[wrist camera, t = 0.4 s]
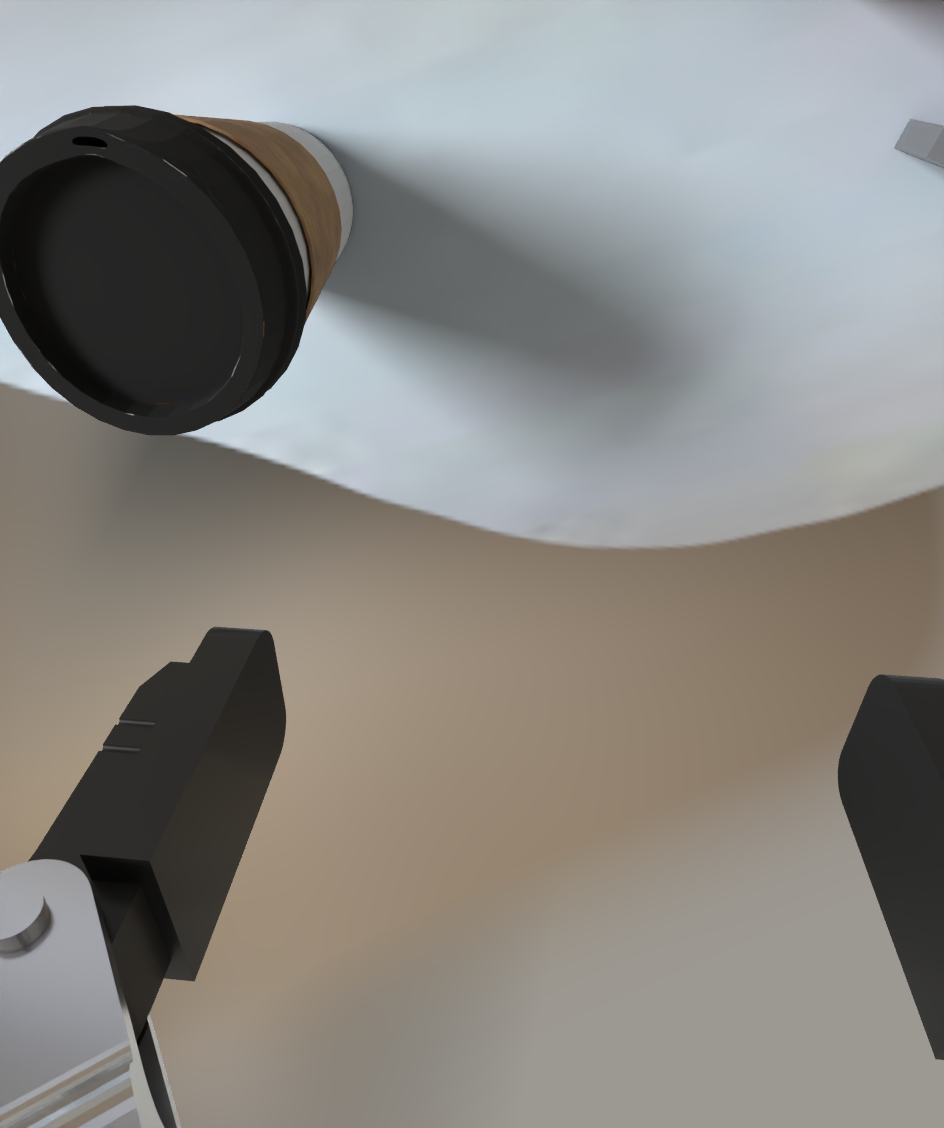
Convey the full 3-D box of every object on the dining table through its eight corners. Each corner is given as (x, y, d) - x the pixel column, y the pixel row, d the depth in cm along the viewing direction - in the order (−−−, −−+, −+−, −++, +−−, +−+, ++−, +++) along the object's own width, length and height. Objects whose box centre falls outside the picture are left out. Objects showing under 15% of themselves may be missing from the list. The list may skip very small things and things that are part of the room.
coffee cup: (385, 94, 30) (268, 129, 17) (382, 316, 35) (289, 468, 22) (169, 73, 30) (-99, 94, 18) (195, 297, 35) (-1, 437, 22)
